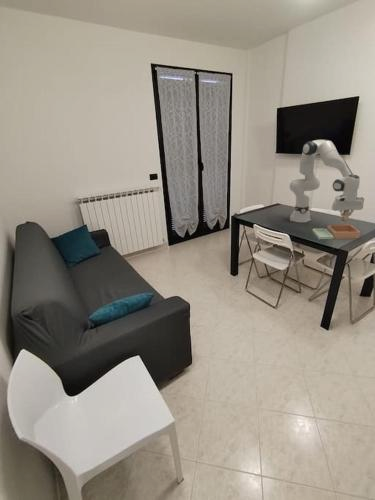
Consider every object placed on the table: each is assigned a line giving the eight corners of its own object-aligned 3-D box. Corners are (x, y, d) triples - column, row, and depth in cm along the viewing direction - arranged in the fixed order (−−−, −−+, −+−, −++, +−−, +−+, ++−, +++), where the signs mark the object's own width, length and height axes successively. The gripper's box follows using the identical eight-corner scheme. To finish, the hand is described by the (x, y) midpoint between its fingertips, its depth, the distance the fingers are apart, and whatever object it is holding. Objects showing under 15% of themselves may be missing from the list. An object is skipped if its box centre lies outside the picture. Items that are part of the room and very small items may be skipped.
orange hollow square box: (326, 231, 202) (327, 225, 199) (349, 231, 198) (350, 224, 196) (334, 239, 187) (335, 232, 184) (358, 239, 183) (360, 232, 181)
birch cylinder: (340, 219, 190) (342, 209, 186) (346, 219, 189) (348, 209, 186) (342, 221, 186) (344, 211, 183) (348, 221, 185) (350, 211, 182)
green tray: (312, 232, 204) (312, 228, 203) (325, 231, 202) (325, 228, 201) (318, 240, 188) (319, 236, 187) (333, 240, 186) (333, 236, 185)
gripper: (362, 196, 181) (358, 213, 187) (332, 197, 185) (329, 214, 191) (367, 198, 175) (362, 216, 181) (336, 199, 179) (332, 217, 185)
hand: (345, 215), depth 186 cm, fingers closed on birch cylinder, 4 cm apart
